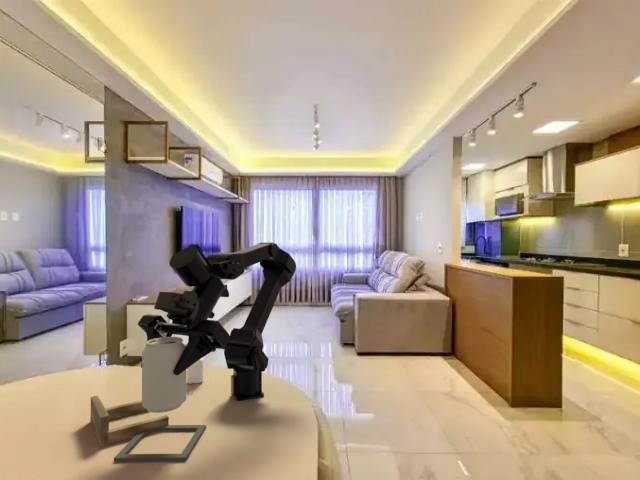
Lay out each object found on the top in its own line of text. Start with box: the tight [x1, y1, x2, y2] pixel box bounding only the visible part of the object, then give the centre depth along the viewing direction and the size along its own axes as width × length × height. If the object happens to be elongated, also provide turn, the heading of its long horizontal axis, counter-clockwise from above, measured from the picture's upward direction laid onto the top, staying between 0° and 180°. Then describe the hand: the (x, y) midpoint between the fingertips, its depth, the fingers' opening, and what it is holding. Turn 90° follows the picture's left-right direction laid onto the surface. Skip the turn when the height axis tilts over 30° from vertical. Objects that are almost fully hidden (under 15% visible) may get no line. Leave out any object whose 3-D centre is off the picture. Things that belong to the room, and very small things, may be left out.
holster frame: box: [113, 424, 207, 463], centre depth 70 cm, size 12×12×1 cm
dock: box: [90, 395, 170, 447], centre depth 78 cm, size 12×12×5 cm
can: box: [141, 336, 187, 414], centre depth 70 cm, size 8×8×12 cm
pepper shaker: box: [186, 356, 205, 385], centre depth 103 cm, size 4×4×10 cm
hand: (158, 371), depth 69 cm, fingers closed on can, 7 cm apart
